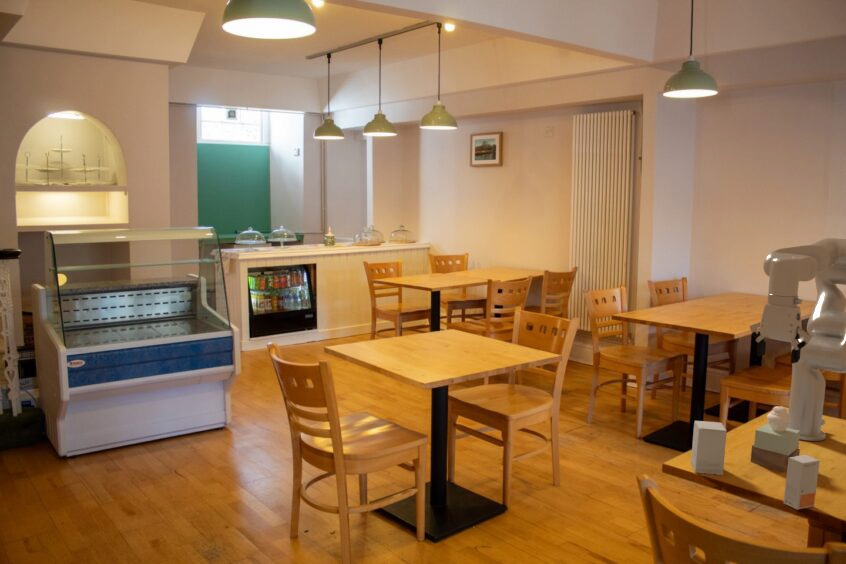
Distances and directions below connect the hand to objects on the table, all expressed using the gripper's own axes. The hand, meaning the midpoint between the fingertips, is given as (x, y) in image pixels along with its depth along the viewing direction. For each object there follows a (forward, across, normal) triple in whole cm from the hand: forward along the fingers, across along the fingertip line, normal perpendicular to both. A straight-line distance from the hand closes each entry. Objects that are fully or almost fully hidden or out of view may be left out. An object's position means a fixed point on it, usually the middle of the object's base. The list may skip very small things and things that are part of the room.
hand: (777, 358), depth 210 cm
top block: (+24, -5, +7) cm, 25 cm away
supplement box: (+28, +4, +28) cm, 39 cm away
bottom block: (+28, -5, +7) cm, 30 cm away
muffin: (+19, -5, +7) cm, 20 cm away
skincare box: (+28, -22, +30) cm, 46 cm away
